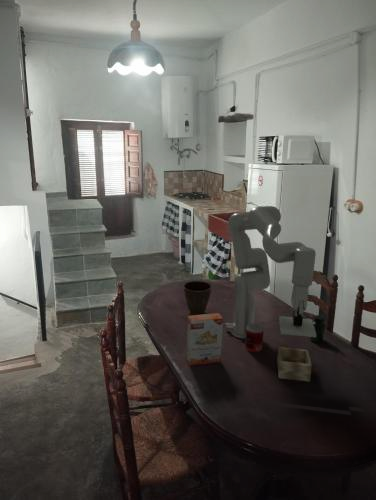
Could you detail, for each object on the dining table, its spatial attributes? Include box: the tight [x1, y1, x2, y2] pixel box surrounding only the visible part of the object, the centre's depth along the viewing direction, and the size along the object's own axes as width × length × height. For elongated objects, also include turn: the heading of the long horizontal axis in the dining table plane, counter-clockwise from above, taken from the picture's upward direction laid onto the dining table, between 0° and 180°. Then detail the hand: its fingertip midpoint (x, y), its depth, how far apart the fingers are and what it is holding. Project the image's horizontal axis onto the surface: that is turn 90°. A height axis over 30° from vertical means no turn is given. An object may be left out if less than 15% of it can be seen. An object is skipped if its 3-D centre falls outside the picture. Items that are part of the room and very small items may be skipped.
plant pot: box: [183, 280, 212, 315], centre depth 210 cm, size 15×15×16 cm
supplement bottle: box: [309, 314, 327, 344], centre depth 183 cm, size 7×7×12 cm
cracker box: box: [186, 312, 224, 367], centre depth 163 cm, size 14×6×21 cm, turn 104°
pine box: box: [276, 346, 313, 382], centre depth 157 cm, size 12×12×8 cm
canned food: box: [244, 323, 264, 353], centre depth 174 cm, size 8×8×11 cm
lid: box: [278, 309, 316, 338], centre depth 151 cm, size 13×13×8 cm
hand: (297, 322), depth 152 cm, fingers closed on lid, 3 cm apart
